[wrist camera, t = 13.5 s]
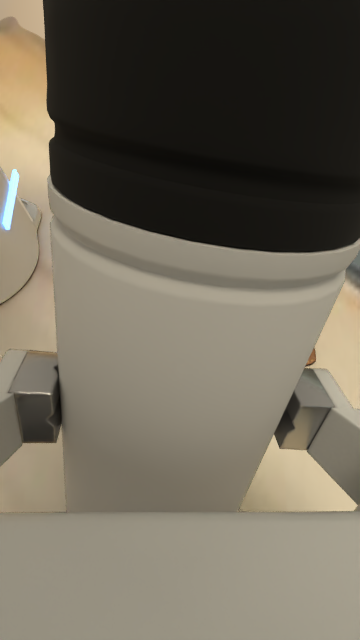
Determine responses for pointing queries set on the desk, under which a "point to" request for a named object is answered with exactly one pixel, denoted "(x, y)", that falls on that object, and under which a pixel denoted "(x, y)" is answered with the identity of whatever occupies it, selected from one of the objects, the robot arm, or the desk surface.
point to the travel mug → (193, 233)
